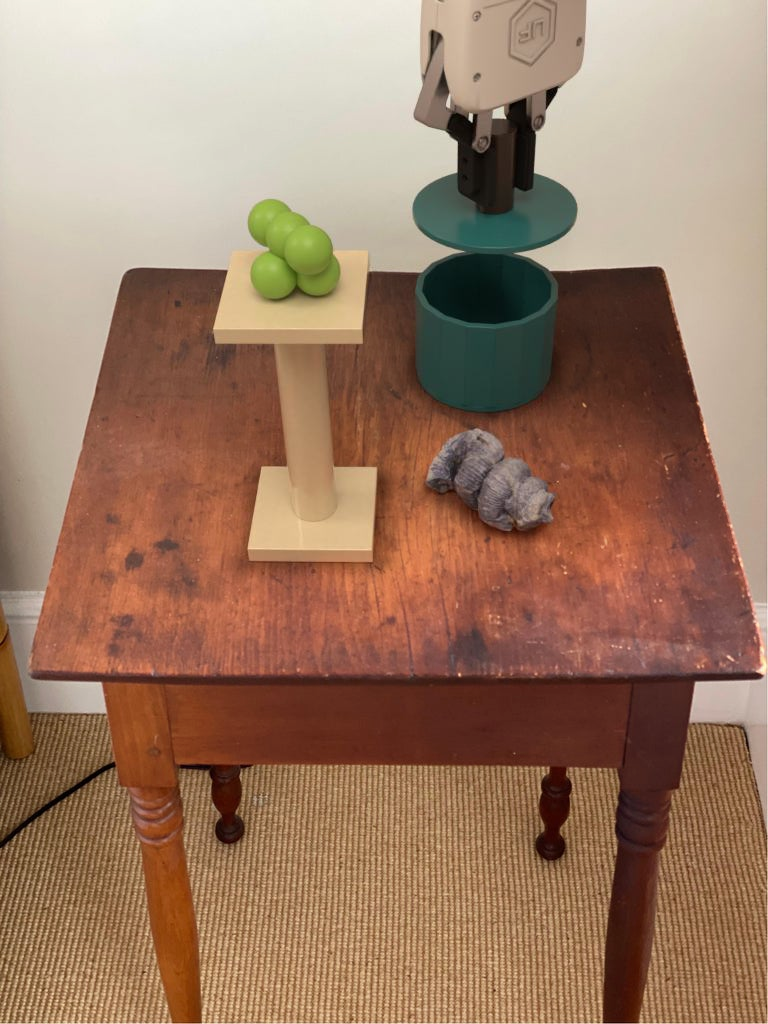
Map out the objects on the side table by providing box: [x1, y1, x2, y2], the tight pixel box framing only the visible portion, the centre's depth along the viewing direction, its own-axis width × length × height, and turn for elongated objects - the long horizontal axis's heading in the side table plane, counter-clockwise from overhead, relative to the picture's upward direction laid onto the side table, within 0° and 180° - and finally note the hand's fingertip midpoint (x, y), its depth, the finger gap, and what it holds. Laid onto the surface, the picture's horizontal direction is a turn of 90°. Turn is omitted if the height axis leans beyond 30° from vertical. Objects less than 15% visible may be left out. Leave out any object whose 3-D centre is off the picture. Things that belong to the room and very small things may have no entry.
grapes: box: [247, 198, 341, 299], centre depth 62 cm, size 6×5×4 cm
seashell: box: [424, 427, 556, 532], centre depth 74 cm, size 5×5×10 cm
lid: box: [411, 117, 579, 254], centre depth 76 cm, size 11×11×7 cm
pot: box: [414, 251, 559, 413], centre depth 84 cm, size 10×10×8 cm
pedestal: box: [212, 249, 379, 563], centre depth 69 cm, size 8×8×18 cm
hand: (495, 189), depth 76 cm, fingers closed on lid, 2 cm apart
